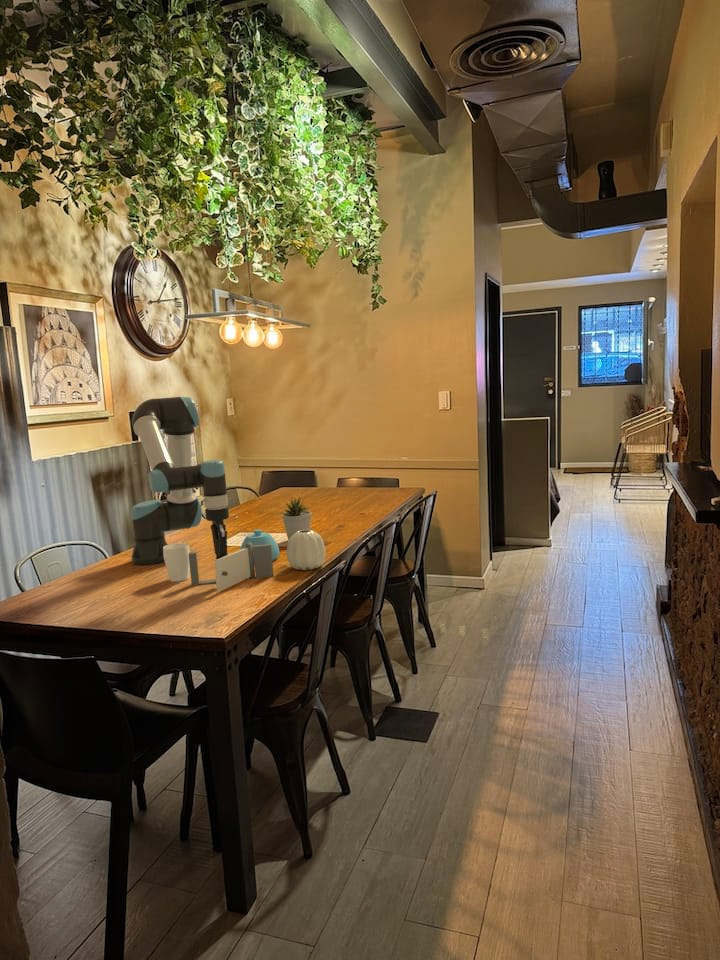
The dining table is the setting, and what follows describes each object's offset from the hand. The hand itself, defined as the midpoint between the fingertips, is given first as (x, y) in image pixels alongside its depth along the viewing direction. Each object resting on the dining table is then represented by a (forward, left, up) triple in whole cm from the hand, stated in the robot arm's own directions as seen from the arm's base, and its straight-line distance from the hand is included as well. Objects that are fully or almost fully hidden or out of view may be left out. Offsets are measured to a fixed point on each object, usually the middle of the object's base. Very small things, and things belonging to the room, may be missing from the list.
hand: (223, 576), depth 216 cm
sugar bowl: (-29, +13, -3) cm, 32 cm away
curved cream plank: (+3, +4, -2) cm, 5 cm away
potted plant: (-54, +30, -3) cm, 62 cm away
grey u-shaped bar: (-5, +3, -3) cm, 6 cm away
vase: (-10, +29, -3) cm, 31 cm away
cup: (-14, -16, -3) cm, 21 cm away
